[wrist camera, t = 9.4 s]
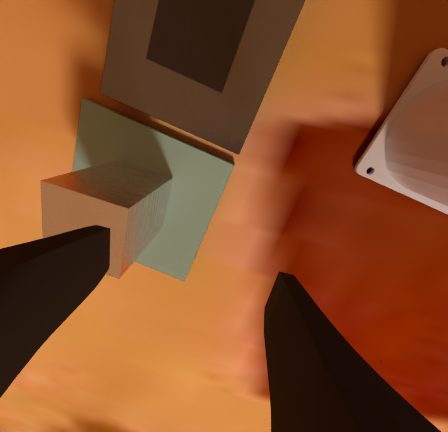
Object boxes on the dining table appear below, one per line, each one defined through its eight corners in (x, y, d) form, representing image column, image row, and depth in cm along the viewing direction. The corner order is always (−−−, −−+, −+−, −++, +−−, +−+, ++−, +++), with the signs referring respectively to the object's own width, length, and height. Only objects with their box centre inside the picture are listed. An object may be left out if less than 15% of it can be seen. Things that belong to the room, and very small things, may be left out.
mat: (234, 164, 17) (234, 165, 17) (186, 277, 22) (184, 281, 21) (87, 99, 17) (81, 98, 16) (69, 229, 21) (64, 232, 21)
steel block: (173, 177, 18) (128, 208, 11) (162, 227, 19) (119, 278, 13) (117, 159, 18) (40, 180, 11) (112, 211, 19) (43, 254, 13)
